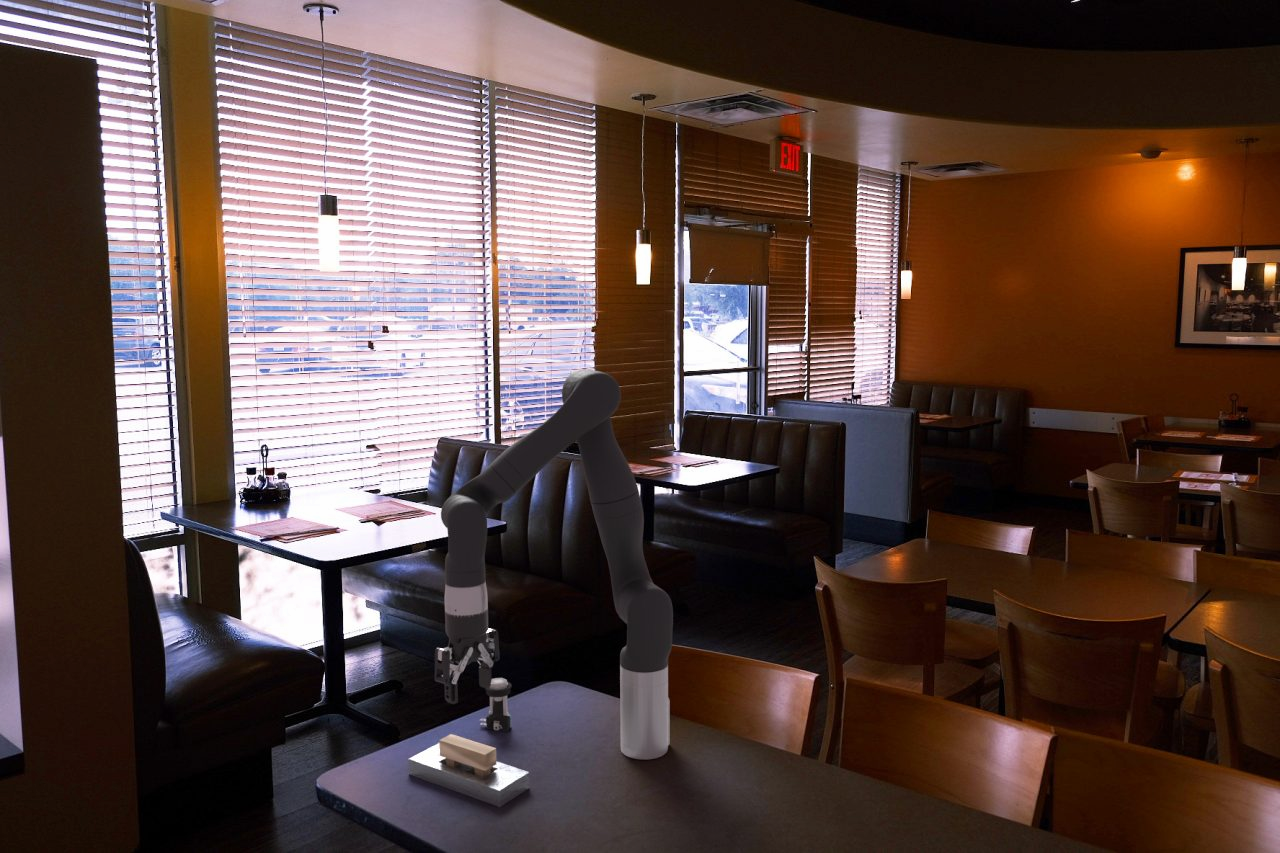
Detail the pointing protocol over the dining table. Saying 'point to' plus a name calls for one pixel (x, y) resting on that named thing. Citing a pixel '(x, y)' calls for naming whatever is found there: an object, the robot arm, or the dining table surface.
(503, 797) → the grey block with holes
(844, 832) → the dining table surface
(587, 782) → the dining table surface
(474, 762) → the wooden peg block
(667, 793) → the dining table surface
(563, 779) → the dining table surface
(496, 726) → the push button
